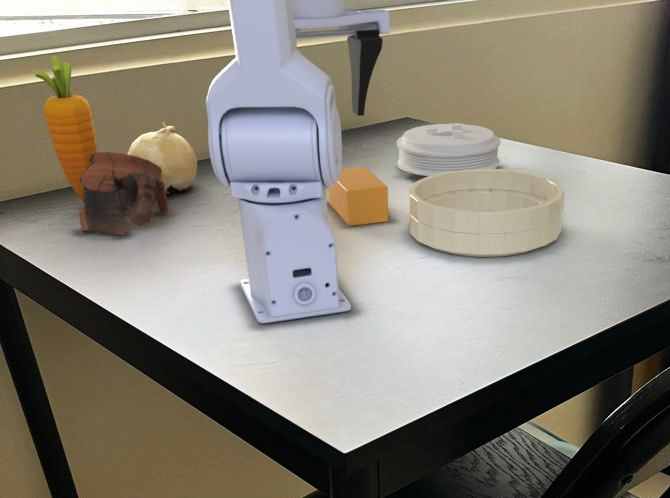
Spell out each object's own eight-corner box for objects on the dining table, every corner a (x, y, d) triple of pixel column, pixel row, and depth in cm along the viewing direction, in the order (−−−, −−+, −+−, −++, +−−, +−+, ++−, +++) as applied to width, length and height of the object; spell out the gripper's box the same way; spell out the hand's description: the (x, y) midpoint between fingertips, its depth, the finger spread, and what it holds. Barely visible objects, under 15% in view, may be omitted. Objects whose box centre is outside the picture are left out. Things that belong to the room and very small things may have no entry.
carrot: (99, 213, 97) (64, 61, 88) (59, 211, 98) (20, 61, 89) (119, 200, 101) (88, 53, 92) (80, 198, 102) (46, 53, 93)
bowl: (586, 249, 85) (591, 201, 82) (440, 269, 81) (440, 220, 78) (521, 205, 96) (524, 162, 94) (391, 221, 93) (390, 177, 90)
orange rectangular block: (388, 221, 93) (387, 186, 91) (349, 226, 92) (347, 190, 90) (366, 199, 99) (365, 166, 97) (329, 204, 98) (326, 170, 96)
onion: (192, 199, 101) (182, 133, 96) (124, 200, 101) (111, 134, 96) (206, 180, 107) (197, 117, 103) (142, 181, 107) (130, 118, 103)
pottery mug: (59, 232, 93) (65, 152, 92) (140, 252, 100) (146, 178, 99) (113, 225, 85) (120, 137, 84) (197, 247, 92) (204, 166, 91)
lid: (468, 190, 101) (470, 144, 98) (377, 177, 107) (376, 133, 104) (516, 165, 110) (518, 122, 107) (429, 153, 115) (429, 112, 112)
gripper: (373, -45, 87) (378, 103, 96) (229, -39, 84) (247, 115, 92) (394, -41, 82) (398, 116, 90) (241, -33, 79) (259, 129, 87)
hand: (323, 117), depth 91 cm, fingers open, 7 cm apart
